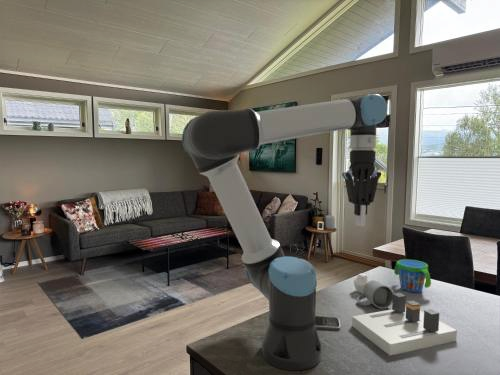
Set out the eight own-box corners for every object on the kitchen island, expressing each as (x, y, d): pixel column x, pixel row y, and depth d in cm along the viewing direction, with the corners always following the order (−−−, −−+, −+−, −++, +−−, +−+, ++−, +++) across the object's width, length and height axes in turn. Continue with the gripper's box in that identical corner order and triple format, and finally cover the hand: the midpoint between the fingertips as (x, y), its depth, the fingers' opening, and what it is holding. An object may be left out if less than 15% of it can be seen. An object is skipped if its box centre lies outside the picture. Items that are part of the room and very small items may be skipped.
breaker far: (398, 313, 103) (399, 296, 102) (392, 309, 105) (392, 293, 105) (405, 311, 104) (405, 295, 103) (398, 308, 106) (399, 292, 106)
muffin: (365, 296, 124) (365, 277, 123) (349, 291, 128) (350, 273, 127) (373, 292, 128) (374, 273, 127) (359, 287, 132) (359, 269, 132)
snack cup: (386, 283, 137) (387, 258, 136) (409, 281, 139) (410, 256, 138) (413, 299, 121) (414, 270, 120) (438, 296, 124) (440, 268, 123)
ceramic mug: (381, 298, 122) (381, 277, 122) (393, 308, 114) (394, 285, 113) (352, 300, 121) (353, 278, 120) (363, 310, 113) (363, 287, 112)
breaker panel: (390, 355, 87) (390, 343, 87) (352, 326, 102) (352, 316, 102) (456, 340, 94) (456, 330, 94) (411, 315, 109) (411, 305, 109)
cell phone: (341, 332, 99) (341, 327, 99) (302, 329, 101) (302, 324, 101) (338, 321, 106) (339, 317, 105) (302, 319, 107) (302, 314, 107)
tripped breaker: (412, 322, 97) (413, 305, 97) (405, 318, 100) (405, 301, 99) (419, 321, 98) (420, 304, 97) (412, 317, 100) (413, 300, 100)
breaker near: (431, 332, 92) (432, 314, 91) (423, 327, 94) (424, 310, 94) (438, 331, 92) (439, 313, 92) (430, 326, 95) (431, 309, 94)
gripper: (351, 149, 100) (349, 229, 103) (388, 149, 105) (385, 226, 107) (337, 149, 108) (335, 224, 110) (372, 150, 112) (370, 222, 114)
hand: (360, 225), depth 108 cm, fingers closed
